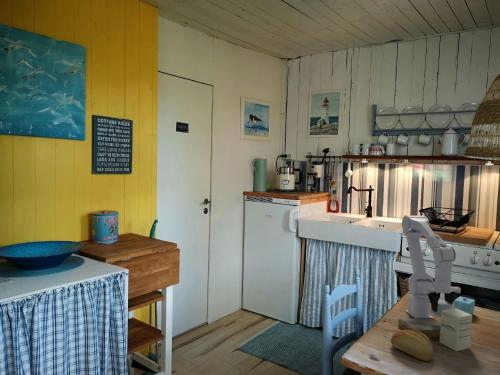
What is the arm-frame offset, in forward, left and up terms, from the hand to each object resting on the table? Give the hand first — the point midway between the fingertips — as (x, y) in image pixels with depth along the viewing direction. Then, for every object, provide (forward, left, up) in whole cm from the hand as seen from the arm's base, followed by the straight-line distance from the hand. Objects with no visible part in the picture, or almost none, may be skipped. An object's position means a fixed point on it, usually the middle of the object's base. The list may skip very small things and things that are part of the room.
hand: (440, 310), depth 155 cm
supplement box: (+12, -2, -9) cm, 14 cm away
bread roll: (+15, -20, -9) cm, 27 cm away
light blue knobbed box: (-15, +21, -9) cm, 27 cm away
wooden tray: (-1, -6, -8) cm, 11 cm away
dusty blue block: (0, 0, -1) cm, 1 cm away
